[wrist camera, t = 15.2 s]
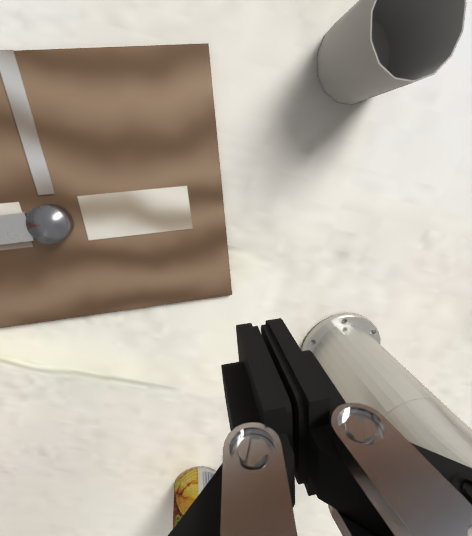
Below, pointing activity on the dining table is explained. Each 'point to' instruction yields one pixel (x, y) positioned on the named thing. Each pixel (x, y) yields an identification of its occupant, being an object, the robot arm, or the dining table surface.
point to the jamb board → (111, 180)
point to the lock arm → (36, 225)
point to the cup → (387, 46)
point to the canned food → (189, 489)
